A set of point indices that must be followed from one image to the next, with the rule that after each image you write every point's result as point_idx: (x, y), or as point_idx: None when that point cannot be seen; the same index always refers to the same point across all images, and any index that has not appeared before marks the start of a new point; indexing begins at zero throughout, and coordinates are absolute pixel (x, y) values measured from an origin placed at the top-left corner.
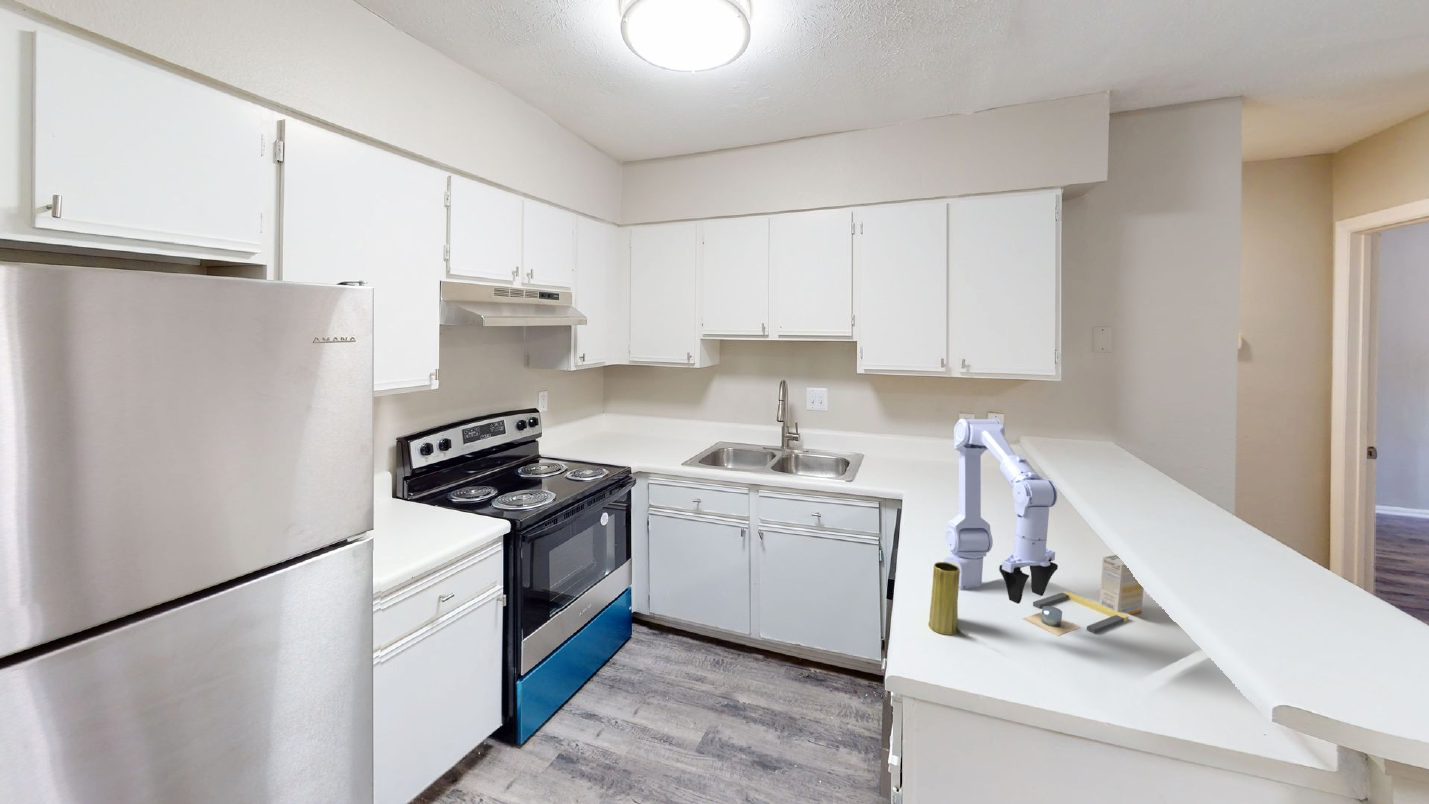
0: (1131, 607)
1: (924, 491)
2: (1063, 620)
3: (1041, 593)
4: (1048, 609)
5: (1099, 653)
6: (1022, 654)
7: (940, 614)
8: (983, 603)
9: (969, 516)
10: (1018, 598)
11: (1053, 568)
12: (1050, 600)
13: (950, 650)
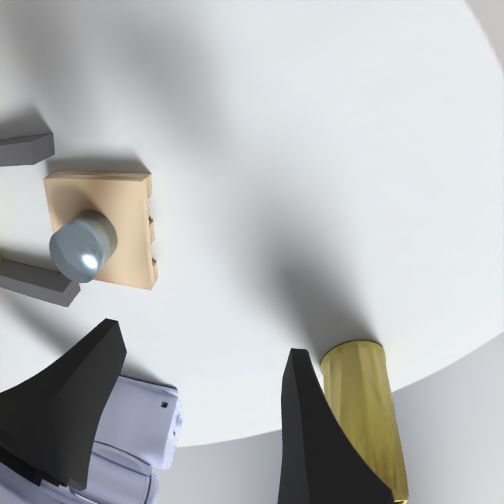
0: None
1: None
2: (55, 222)
3: (111, 330)
4: (79, 265)
5: (98, 78)
6: (323, 198)
7: (390, 391)
8: (159, 362)
9: None
10: (313, 373)
11: (6, 433)
12: (28, 285)
13: (438, 308)
